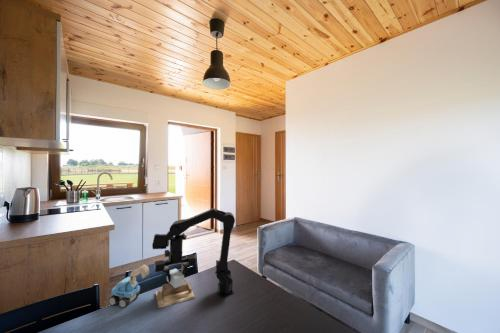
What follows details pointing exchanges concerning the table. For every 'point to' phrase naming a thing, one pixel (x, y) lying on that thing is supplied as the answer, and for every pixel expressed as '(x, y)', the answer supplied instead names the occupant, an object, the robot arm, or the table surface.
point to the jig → (174, 297)
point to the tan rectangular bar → (173, 289)
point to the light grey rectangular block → (176, 278)
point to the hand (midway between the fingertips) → (175, 280)
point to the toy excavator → (128, 288)
